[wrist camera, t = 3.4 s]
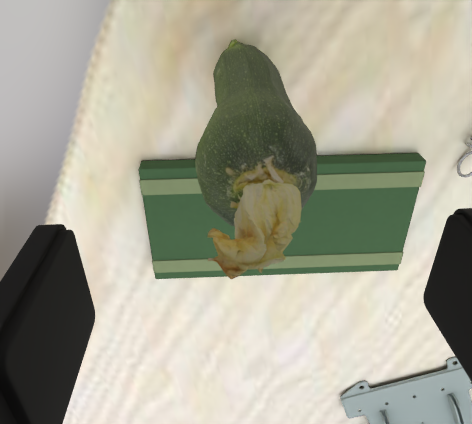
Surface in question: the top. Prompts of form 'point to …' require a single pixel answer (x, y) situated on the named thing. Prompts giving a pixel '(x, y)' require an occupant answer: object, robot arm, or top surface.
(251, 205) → the vegetable
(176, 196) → the green rectangular slab
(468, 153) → the spring
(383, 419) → the metal bracket
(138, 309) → the top surface
